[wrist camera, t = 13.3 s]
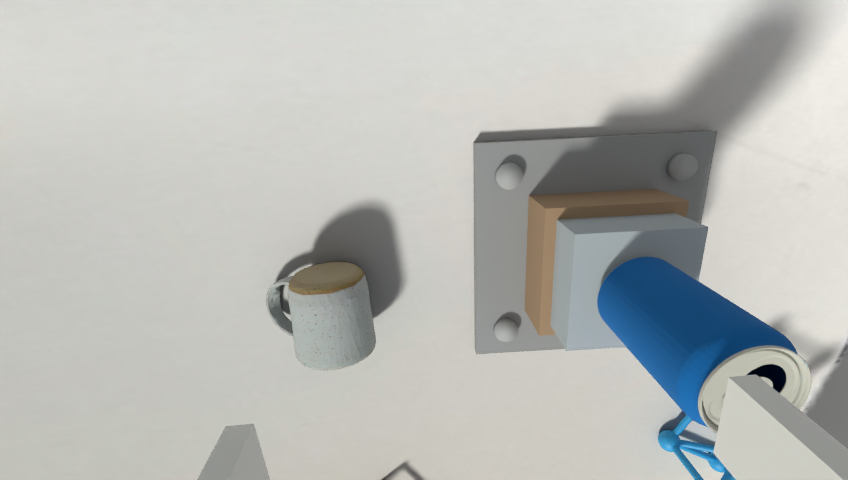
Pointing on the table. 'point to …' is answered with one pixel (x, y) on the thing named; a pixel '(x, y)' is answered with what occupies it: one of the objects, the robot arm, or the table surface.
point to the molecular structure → (691, 450)
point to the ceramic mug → (326, 315)
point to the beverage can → (695, 338)
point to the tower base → (559, 178)
